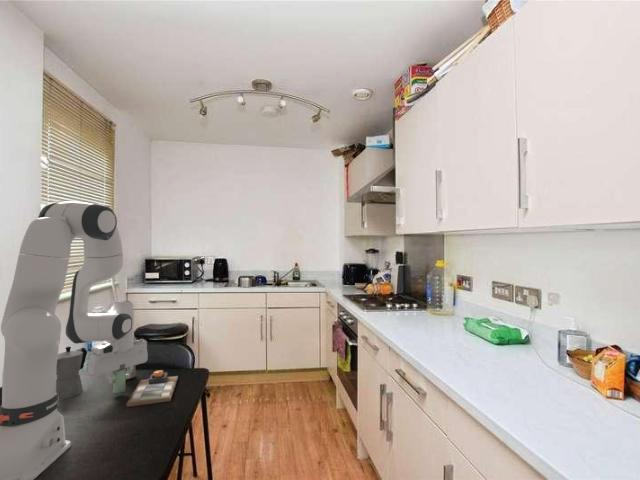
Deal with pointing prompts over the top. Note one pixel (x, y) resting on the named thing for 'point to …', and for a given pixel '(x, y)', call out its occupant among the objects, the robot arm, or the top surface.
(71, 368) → the coffeepot
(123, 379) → the green capped bottle
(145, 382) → the checkered tray
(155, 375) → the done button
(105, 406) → the top surface
